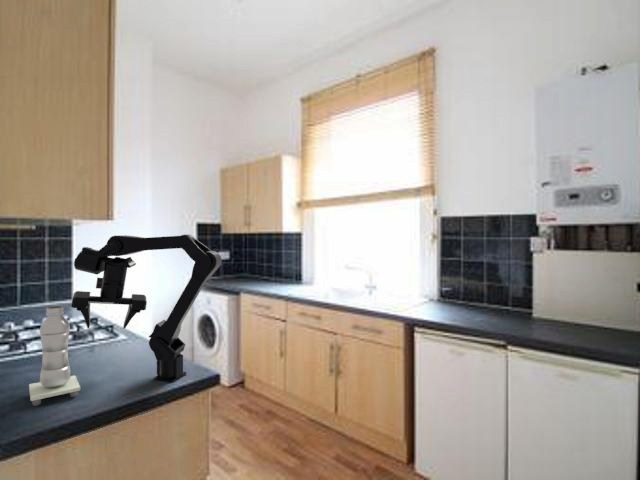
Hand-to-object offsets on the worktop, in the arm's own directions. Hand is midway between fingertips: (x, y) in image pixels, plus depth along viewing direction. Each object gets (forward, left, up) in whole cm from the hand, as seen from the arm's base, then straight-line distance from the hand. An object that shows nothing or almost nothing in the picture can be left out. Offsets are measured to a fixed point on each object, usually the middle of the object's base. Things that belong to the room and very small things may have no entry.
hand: (106, 327), depth 111 cm
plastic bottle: (0, +16, -11) cm, 19 cm away
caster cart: (0, +16, -13) cm, 21 cm away
